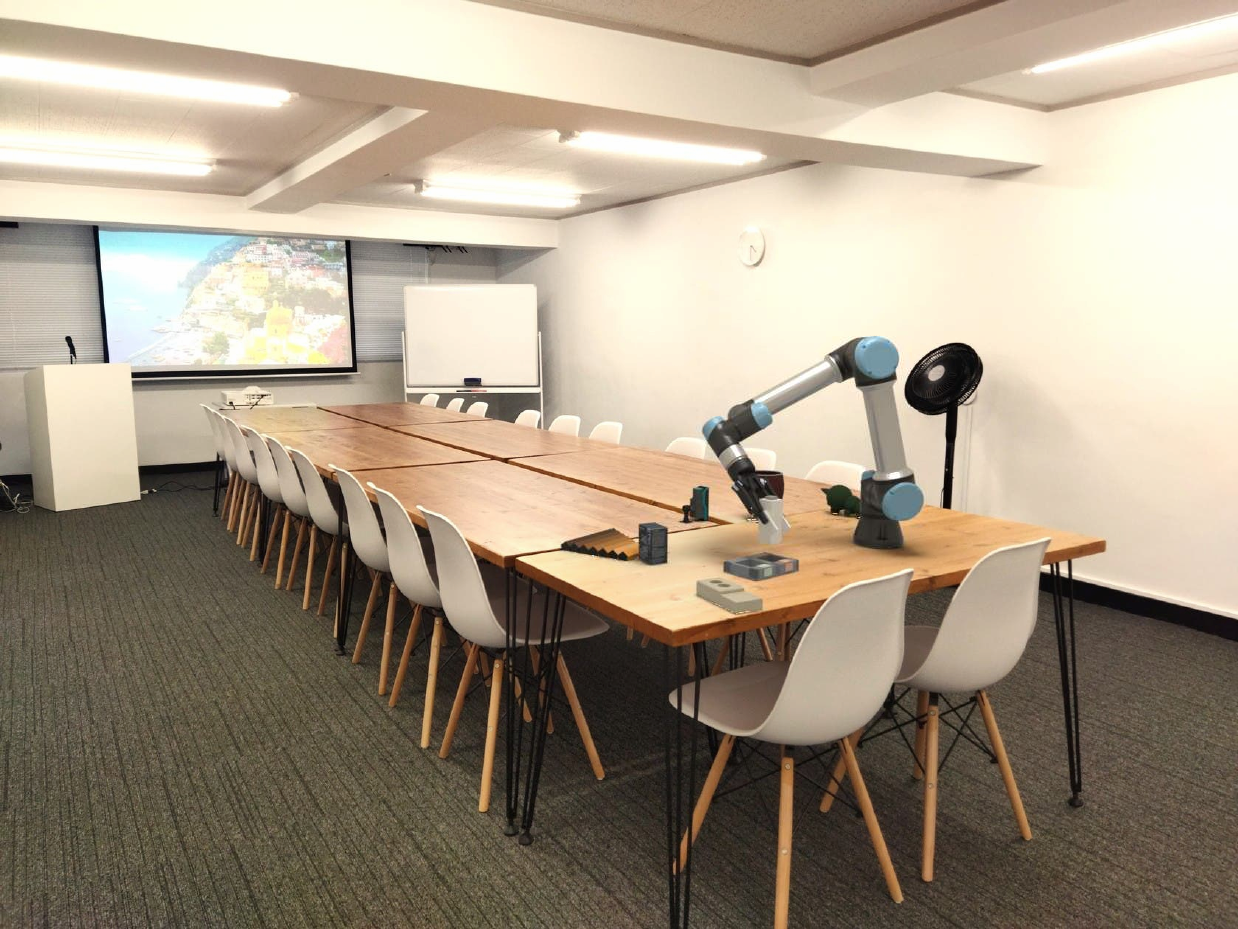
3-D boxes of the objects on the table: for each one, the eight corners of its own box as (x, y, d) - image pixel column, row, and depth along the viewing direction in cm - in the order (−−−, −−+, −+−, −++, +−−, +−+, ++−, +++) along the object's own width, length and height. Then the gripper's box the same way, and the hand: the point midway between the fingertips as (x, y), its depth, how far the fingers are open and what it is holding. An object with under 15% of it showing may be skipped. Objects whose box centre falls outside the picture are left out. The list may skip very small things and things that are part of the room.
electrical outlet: (736, 598, 195) (695, 580, 211) (736, 616, 195) (695, 596, 211) (762, 594, 198) (720, 576, 214) (762, 611, 198) (720, 592, 214)
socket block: (765, 562, 243) (765, 551, 243) (799, 570, 234) (799, 559, 234) (723, 572, 233) (723, 560, 232) (757, 581, 223) (757, 569, 223)
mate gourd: (776, 516, 312) (777, 461, 310) (788, 523, 299) (790, 466, 296) (734, 517, 310) (735, 462, 308) (745, 524, 297) (746, 467, 294)
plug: (769, 539, 238) (770, 494, 237) (781, 542, 235) (783, 496, 233) (758, 542, 235) (759, 496, 234) (770, 545, 232) (772, 498, 230)
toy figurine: (886, 523, 308) (824, 508, 324) (893, 471, 304) (830, 459, 320) (875, 527, 301) (812, 512, 317) (882, 474, 297) (817, 461, 313)
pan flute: (609, 537, 279) (560, 551, 259) (609, 527, 278) (560, 540, 258) (674, 547, 264) (628, 563, 244) (674, 536, 264) (628, 552, 244)
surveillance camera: (677, 487, 301) (699, 485, 306) (677, 521, 302) (699, 518, 308) (687, 489, 296) (709, 487, 302) (687, 524, 298) (709, 521, 303)
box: (637, 559, 247) (638, 523, 245) (655, 557, 249) (655, 521, 248) (650, 565, 240) (650, 528, 238) (668, 563, 242) (668, 526, 241)
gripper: (751, 470, 250) (794, 535, 240) (708, 475, 239) (751, 543, 229) (765, 453, 245) (809, 519, 235) (723, 458, 234) (767, 527, 224)
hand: (781, 531), depth 232 cm, fingers closed on plug, 4 cm apart
